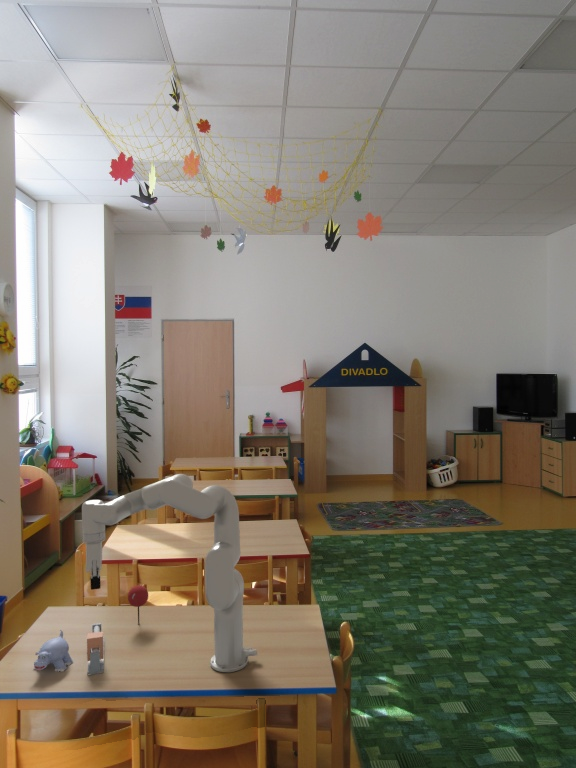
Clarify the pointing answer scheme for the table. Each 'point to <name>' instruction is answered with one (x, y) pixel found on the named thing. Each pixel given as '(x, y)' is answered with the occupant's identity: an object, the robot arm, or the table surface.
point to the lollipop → (138, 597)
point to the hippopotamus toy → (54, 654)
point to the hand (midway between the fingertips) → (95, 588)
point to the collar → (94, 643)
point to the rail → (96, 655)
